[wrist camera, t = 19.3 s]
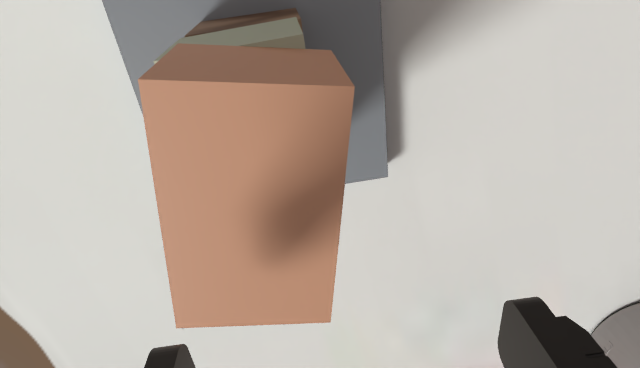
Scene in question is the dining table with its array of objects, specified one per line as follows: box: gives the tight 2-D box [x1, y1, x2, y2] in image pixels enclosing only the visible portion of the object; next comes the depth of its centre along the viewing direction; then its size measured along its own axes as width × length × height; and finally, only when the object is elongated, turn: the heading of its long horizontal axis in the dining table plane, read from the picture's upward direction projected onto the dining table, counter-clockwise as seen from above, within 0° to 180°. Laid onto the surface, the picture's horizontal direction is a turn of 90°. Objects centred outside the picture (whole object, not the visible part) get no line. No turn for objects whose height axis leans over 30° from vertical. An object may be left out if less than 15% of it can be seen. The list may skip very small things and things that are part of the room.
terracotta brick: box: [138, 43, 355, 328], centre depth 13 cm, size 5×8×4 cm, turn 176°
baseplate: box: [102, 0, 388, 184], centre depth 24 cm, size 14×14×2 cm
